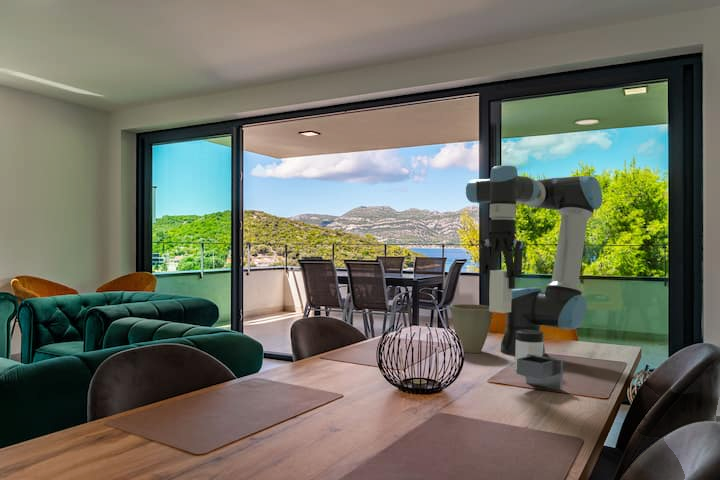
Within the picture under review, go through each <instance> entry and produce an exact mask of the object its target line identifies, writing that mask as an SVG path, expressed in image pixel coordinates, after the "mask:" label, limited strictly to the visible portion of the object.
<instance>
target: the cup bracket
mask: <svg viewBox="0 0 720 480" xmlns="http://www.w3.org/2000/svg"><path fill="white" fill-rule="evenodd" d="M563 372H564V360H563V359H560V358H559V359H558V358H552V357H547V356H544V355H543V356H537V355H532V354H527V357H523V358H519V359H517V371H516V374H517V375H520V376H525V377H526V379H525V384H530V385H532V386H533V385H534V386H539V387H543V388H547V389H551V388H552V390H555V389H556V391H560V390H561V391H562V390H563V377H564V375H563V374H564V373H563Z"/></svg>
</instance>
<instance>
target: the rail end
mask: <svg viewBox="0 0 720 480" xmlns="http://www.w3.org/2000/svg"><path fill="white" fill-rule="evenodd" d="M507 276H508V274H507V269H506V270H505V269H496V270H490V297H489V296H488V297H489V304H488V305H489V311H490V312H493V313H498V314H507V312H511V300H505V277H507Z"/></svg>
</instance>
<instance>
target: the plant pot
mask: <svg viewBox="0 0 720 480" xmlns="http://www.w3.org/2000/svg"><path fill="white" fill-rule="evenodd" d="M450 308H451V310H450V311H451V319H452V324H453V330H454V334H455V333H456V335H457V336H458V337H459V339H460V340H461V343H462V345H463V349H464V352H463V353H468V354H479V353H481V352H482V350H483V348H484V345H485V343H486V340H487V337H488V334H489V330H490V327H491V323H492V319H493V313H494V312H490V311H489V306H488V305H485V304H484V305H482V304H471V303H470V304H467V303H463V304H461V303H460V304H458V303H456V304H452V305H450ZM456 335H455V336H456Z"/></svg>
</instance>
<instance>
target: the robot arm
mask: <svg viewBox="0 0 720 480" xmlns="http://www.w3.org/2000/svg"><path fill="white" fill-rule="evenodd" d="M465 196H466V198H467V200H468V201H469V202H470V203H474V204H475V203H477V204H481V203H484V204H485V203H487V204H488V203H489V218H490V220H489V223H488V225H489V227H488V231H489V235H488V238H487V239H485V240H483V239H482V240H480V247H481V273H482V274H485V275H486V276H487V280H486V281H487V283H486V285H487V287H489V290H488V291H489V293H488V297H490V270H497V266H498V261H499V257H500V254H501V252H502V255H503V256H504V260H505V261H504V262H505V267H506V268H505V269H506V271H507V274H508V276H507V277H505V300H511V312H507V313H506V316H505V317H506V323H505V324H506V325H505V326H506V327H505V332H504V334H503V335H504V336H503V338H502V341H501V344H500V352H502V353H504V354H507V355H510V356H511V355H512V356H515V349H516V331H517V330H524V329H525V330H537V331H541V326H543V327H552V328H558V329H561V330H575V329H578V328H579V327H580V326H581V325H582V323H583V322H584V321H585V317H586V315H587V309H588V305H587V299H586V297H584V295H582V293H583V290H581V288H580V287H579V281H580V275H581V269H582V268H581V267H582V262H583V261H582V259H583V253H584V246H585V240H586V234H587V226H588V220H590V219H591V218H592V217H593V216H594V213H595V212H594V211H595V210H598V209H600V208H601V206H602V203H603V192H602V188H601V184H600V183H599V181H598V179H597V178H596V177H594V176H591V175H579V176H566V177H565V176H564V177H552V178H546V179H545V178H544V179H540V180H539V179H538V180H535V179H533V178H530V177H528V176H521V175H519V174H518V168H517V167H516V166H514V165H495V166H493V167H492V168H491V170H490V177H489V178H477V179H471V180H469V181H468V182H467V184H466V186H465ZM517 204H520V205H521V204H523V205H526V206H527V207H530V208H539V209H544V210H545V209H546V210H551V211H552V210H555V211H556V210H557V213H558V214H559V215H560V217H561V218H560V219H561V220H560V225H559V232H558V238H557V243H556V250H555V251H556V253H555V256H554V262H553V263H554V264H553V271H552V277H551V282H550V283H548V284H547V285H545V291H543V290H542V289H541V287H540V286H539V287H521V288H515V286H516V285H515V284H516V277H519V276H521V275H522V272H523V271H522V270H523V251H524V250H523V249H524V247H525V244H526V243H525V241H524V240H519V239H517V237H516V231H517V229H516V228H517V221H516V220H515V219H516V217H517ZM513 246H514V250H513ZM490 247H491V248H490ZM545 354H546V348H545V343H544V342H543V356H544V355H545Z"/></svg>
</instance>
